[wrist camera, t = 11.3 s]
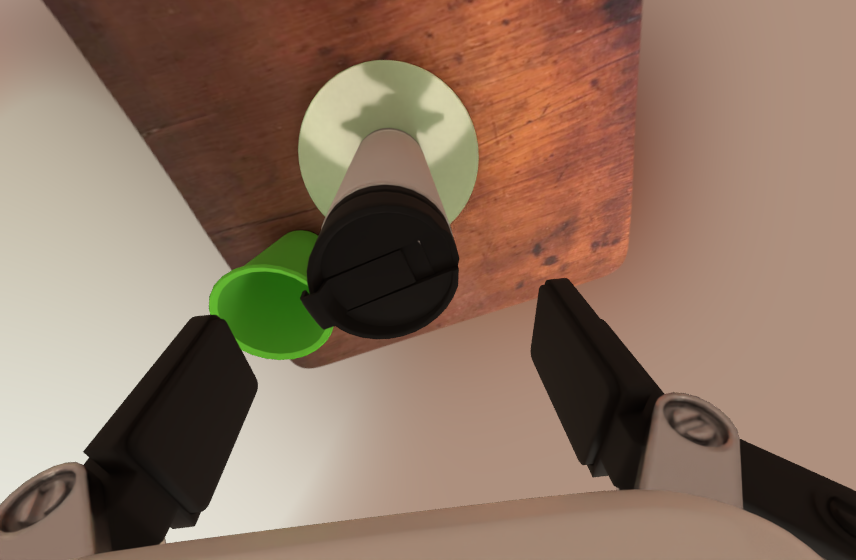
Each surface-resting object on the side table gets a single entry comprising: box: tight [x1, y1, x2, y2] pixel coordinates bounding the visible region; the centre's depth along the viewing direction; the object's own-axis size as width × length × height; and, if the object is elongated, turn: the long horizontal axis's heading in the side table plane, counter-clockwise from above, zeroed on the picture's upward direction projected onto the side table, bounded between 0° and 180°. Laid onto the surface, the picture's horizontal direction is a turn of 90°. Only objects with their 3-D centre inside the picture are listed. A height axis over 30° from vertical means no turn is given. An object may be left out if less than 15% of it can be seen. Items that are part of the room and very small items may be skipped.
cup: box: [209, 230, 333, 360], centre depth 30 cm, size 9×9×11 cm
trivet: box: [298, 60, 479, 224], centre depth 30 cm, size 16×16×1 cm
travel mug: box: [300, 128, 459, 339], centre depth 21 cm, size 6×7×20 cm
